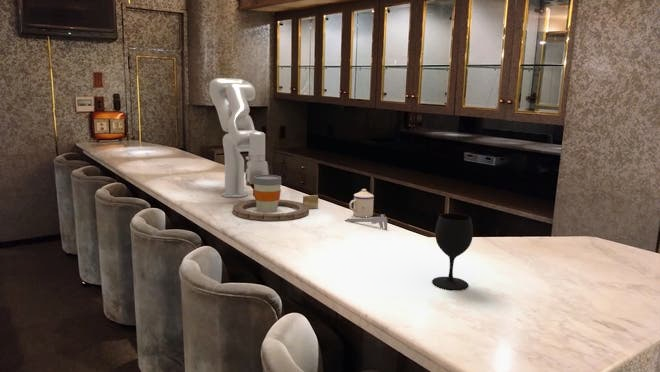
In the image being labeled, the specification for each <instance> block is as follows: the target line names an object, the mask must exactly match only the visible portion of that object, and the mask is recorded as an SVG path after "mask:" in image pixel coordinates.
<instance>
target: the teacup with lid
mask: <svg viewBox="0 0 660 372" xmlns="http://www.w3.org/2000/svg"><path fill="white" fill-rule="evenodd" d="M374 198H375V196H374V194H372V193H370V192H369V191H367V189H366V188H362V189H361V190H360V191H359V192H356V193H354V194H353V199H352V200H350V202H349V203H348V205H349V206H348V207H349V209H350V211H352V215H353V216H354V215H355V217H357V216H358V217H357V218H371V217H374V216H373V215H374V201H375V200H374ZM352 205H353V207H352ZM366 216H367V217H366Z"/></svg>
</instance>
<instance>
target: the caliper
mask: <svg viewBox="0 0 660 372" xmlns="http://www.w3.org/2000/svg"><path fill="white" fill-rule="evenodd" d="M347 221H348V222H347ZM344 222H347V223H371V224H372V225H374V224H378V225H379V227H380V229H381V228H383V229H384V230H387V229H388V218H387V216H386V214H383V213H382V214H380V216H371V217H356V218H346V219H344Z"/></svg>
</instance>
